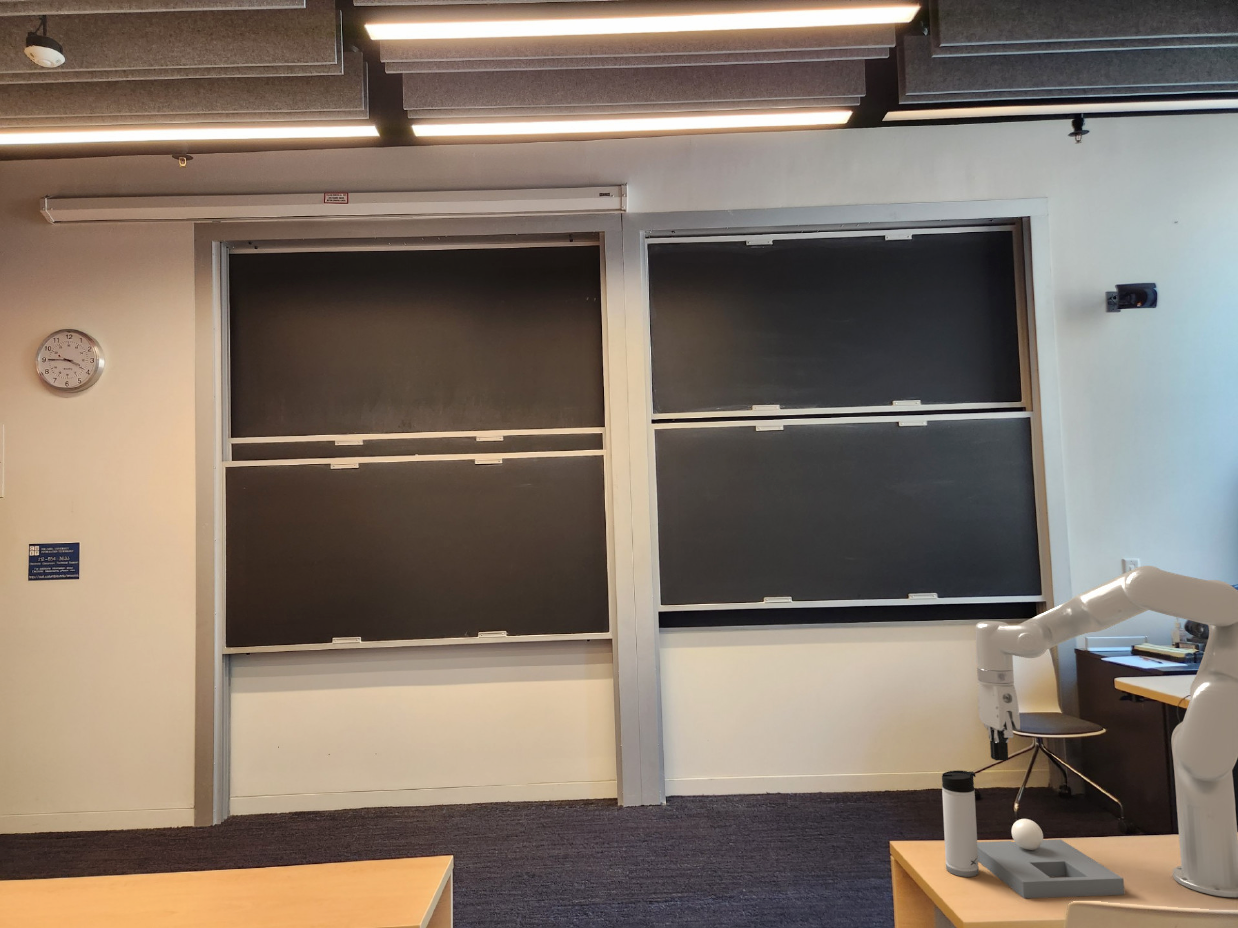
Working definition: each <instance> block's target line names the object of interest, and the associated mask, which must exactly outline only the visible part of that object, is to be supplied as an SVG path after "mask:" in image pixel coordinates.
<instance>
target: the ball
mask: <svg viewBox="0 0 1238 928" xmlns="http://www.w3.org/2000/svg"><path fill="white" fill-rule="evenodd" d="M1011 836H1012V839H1013V841H1015V842H1016V843H1017V844H1018V845H1019V846H1020V847H1022V848H1024V849H1027V850H1034V849H1037V848H1038V847H1039V846H1040V845H1041V844H1042V842H1043V840H1044V833H1043V831H1042V829H1041V827H1040V826H1039V824H1038V823H1036V822H1035V821H1033V820H1031V819H1028V818H1021V819H1018V820H1016V821H1015V822H1014V823H1013V825H1012V826H1011Z"/></svg>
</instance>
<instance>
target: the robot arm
mask: <svg viewBox="0 0 1238 928" xmlns="http://www.w3.org/2000/svg"><path fill="white" fill-rule="evenodd" d="M1147 611H1151V612H1155V613H1157V614H1158V613H1159V614H1162V615H1166V616H1170V617H1174V618H1179V619H1183V620H1188V621H1191V622H1196V623H1200V624H1204V625H1207V626H1208V630H1209V631H1208V639H1207V642H1206V646H1205V648H1204V652H1203V656H1202V659H1201V661H1200V664H1199V667H1198V670H1197V672H1196V675H1195V677H1194V679H1193V680H1192V683H1191V684H1190V688H1189V696H1190V699H1189V702H1188V706H1187V709H1186V711H1185V714H1184V717H1183V720H1182V721H1181V722H1179V723H1178V724H1177V725H1176V726H1175V728H1174V729H1173V731H1172V734H1171V751H1172V760H1173V770H1174V785H1175V797H1176V812H1177V828H1178V839H1179V850H1180V852H1179V853H1180V863H1181V864H1180V865H1179V866H1176V867H1173V869H1172V877H1173V879H1174V880H1175V881H1176V882H1177V883H1178V884H1180V885H1182V886H1183V887H1186V888H1189V889H1191V890H1193V891H1196V892H1199V893H1202V894H1203V893H1204V894H1207V895H1211V896H1216V897H1223V898H1238V825H1237V814H1236V798H1235V787H1234V777H1233V776H1234V775H1233V770H1234V767H1235V765H1236V763H1237V760H1238V589H1236V588H1235V587H1234V586H1232V585H1231V584H1229V583H1227V582H1225V581H1222V580H1216V579H1209V580H1208V579H1201V578H1197V577H1193V576H1188V575H1187V576H1186V575H1182V574H1179V573H1174V572H1170V571H1166V570H1163V569H1161V568H1158V567H1157V566H1153V565H1142V566H1138V567H1136V568H1133V569H1130V570H1128V571H1126V572H1124V573H1122V574H1119V575H1118V576H1116V577H1113V578H1112V579H1109V580H1106V581H1105V582H1102V583H1100V584H1099V585H1096V586H1094V587H1092V588H1090V589H1088V590H1085V591H1083V592H1082V593H1081V592H1080V593H1079V594H1077V595H1075V596H1073V597H1072V598H1070V599H1069V600H1068V601H1066V602H1064V603H1061V604H1060V605H1057V606H1055V607H1053V608H1051V609H1048V610H1047V611H1045V612H1043V613H1040V614H1038V615H1036V616H1034V617H1032V618H1029V619H1027V620H1025V621H1023V622H1021V623H1019V624H1008V623H1007V622H1005V621H995V620H987V621H986V620H985V621H984V620H983V621H979V622H978V623H976V625H975V628H974V630H975V631H974V633H975V647H976V648H975V651H976V653H975V654H976V673H977V674H976V677H977V682H978V690H977V691H978V695H977V700H978V701H977V702H978V703H977V706H978V707H977V708H978V709H977V710H978V717H979V720H980V722H981V723H982V724H983V726H984V728H985V729H986V731H987V735H988V739H989V746H990V759H992V760H993V761H1008V760H1009V748H1008V743H1009V738H1014V731H1019V730H1020V729H1021V720H1020V719H1021V718H1020V710H1019V702H1018V701H1019V700H1018V695H1017V690H1016V686H1015V679H1014V675H1015V674H1014V658H1013V656H1015V657H1019V658H1020V657H1021V658H1025V659H1035V658H1040V657H1041V656H1043V655H1044V654H1045V653H1046V652H1047V650H1050V649H1051V648H1053V647H1056V646H1058V645H1060V644H1062V643H1065V642H1066V641H1069V640H1072V639H1074V638H1077V637H1080V636H1082V635H1085V634H1088V633H1097V632H1101V631H1103V630H1107V629H1110V628H1111V627H1113V626H1115V625H1117V624H1120V623H1122V622H1124V621H1126V620H1129V619H1131V618H1134V617H1135V616H1138V615H1140V614H1142V613H1145V612H1147ZM1013 730H1014V731H1013Z"/></svg>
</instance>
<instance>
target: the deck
mask: <svg viewBox="0 0 1238 928" xmlns="http://www.w3.org/2000/svg"><path fill="white" fill-rule="evenodd" d="M1011 841H1012V840H1010V841H1009V840H1004V841H1002V840H1001V841H977V848H978V863H979V864H980V865H982V866H983V867H984V866H985V867H984V868H986V869H987V870H988V871H990V872H991V873H992V874H993V875H995V876H996V878H998V879H999V880H1001V881H1002V882H1003V883H1004V884H1005V885H1007V886H1008V888H1010V889H1012V890H1013V891H1014V892H1015V893H1017V894H1018V895H1019V896H1021V897H1022V898H1023V899H1037V898H1039V899H1041V898H1043V899H1044V898H1045V899H1046V898H1066V897H1068V898H1070V897H1092V896H1095V897H1097V896H1124V895H1125V882H1124V878H1123V877H1122V876H1120V875H1119V874H1117V873H1115V872H1113V870H1111V869H1109V868H1107V867H1106V866H1104V865H1103V864H1101V863H1099V862H1098V861H1096V860H1094V858H1091V857H1090V856H1088V855H1086V854H1085V853H1084V852H1082V851H1080V850H1078V849H1077V848H1076V847H1073V846H1072V845H1070V844H1069V843H1067V842H1066V841H1064V840H1062V839H1060V838H1059V839H1043V842H1042V844H1041V845H1040V846H1039V847H1038V848H1037V849H1034V850H1027V849H1024V848H1022V847H1020V846H1019V845H1018V844H1017V843H1016V842H1011Z"/></svg>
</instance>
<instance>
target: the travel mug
mask: <svg viewBox="0 0 1238 928" xmlns="http://www.w3.org/2000/svg"><path fill="white" fill-rule="evenodd" d="M974 778H976V773H975V772H974V770H973V771H972V770H971V771H968V770H959V769H958V770H948V771H946V772H943V773H942V774H941V782H942V783H941V789H942V790H941V791H942V793H941V795H942V813H943V831H944V832H943V833H944V851H945V852H944V853H945V854H944V855H945V856H944V857H945V869H946V871H948V872H949V873H950V874H952V875H954V876H958V877H963V878H971V877H976V876H977V875H979V874H980V873H979V862H978V848H977V842H978V833H977V832H978V831H977V830H978V829H977V816H976V815H977V813H976V810H977V809H976V796H975V795H976V794H975V782H974V781H975V780H974Z"/></svg>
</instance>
